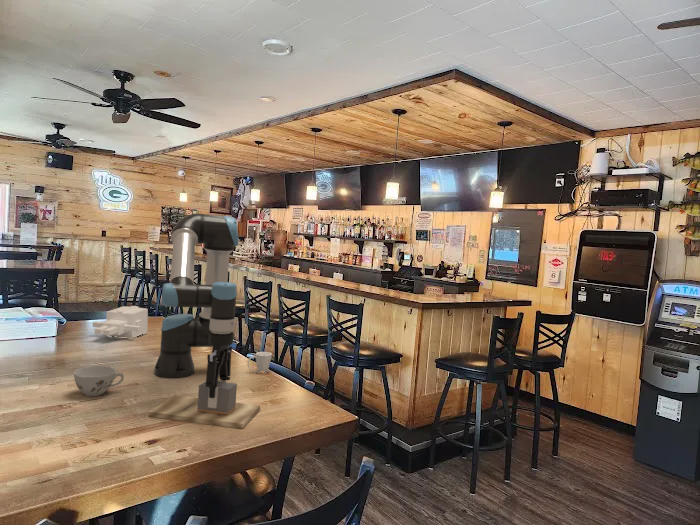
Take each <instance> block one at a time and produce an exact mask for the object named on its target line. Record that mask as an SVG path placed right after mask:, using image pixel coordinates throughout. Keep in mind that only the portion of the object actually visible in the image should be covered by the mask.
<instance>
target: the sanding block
mask: <svg viewBox="0 0 700 525" xmlns="http://www.w3.org/2000/svg"><path fill="white" fill-rule="evenodd" d="M217 387H218V400H217V408H209V407H208V395H209V387H206V380H204V382H202V383H201V384H199V385H198V395H197V396H198V397H197V398H198V409H197V411H202V412H210V413H218V414H226V415H228V414H229V413H231V412H232V411H233V410H234V409H235V406H236V403H237V401H236V400H237V389H238V384H237V383H234V382H228V381H227V382H219V381H218V383H217Z"/></svg>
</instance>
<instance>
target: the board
mask: <svg viewBox="0 0 700 525" xmlns="http://www.w3.org/2000/svg"><path fill="white" fill-rule="evenodd" d="M197 409H198V397H192V396H186V395H185V396H184V395H176V394H175V395H173V396H172V397H170V398H168V399H167V400H165V401H164V402H162V403H160V404H159V405H157V406H155V407H154V408H152V409H151V410H149V411H148V418H149V417H150V418H157V419H165V420H174V421H181V422H188V423H195V424H203V425H211V426H218V427H219V426H220V427H227V428H232V429H233V428H234V429H241V430H243V429H244V428H245V427H246V426H247V425H248V424H249V423H250V421H252V420H253V419H254V418H255V416H257V414H258V413H259V412H260V411H261V405H258V404H257V405H256V404H249V403H242V402H236V406H235V409H234V410H233V411H232V412H231V413H229V414H228V415H226V414H218V413H210V412H202V411H197Z"/></svg>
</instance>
